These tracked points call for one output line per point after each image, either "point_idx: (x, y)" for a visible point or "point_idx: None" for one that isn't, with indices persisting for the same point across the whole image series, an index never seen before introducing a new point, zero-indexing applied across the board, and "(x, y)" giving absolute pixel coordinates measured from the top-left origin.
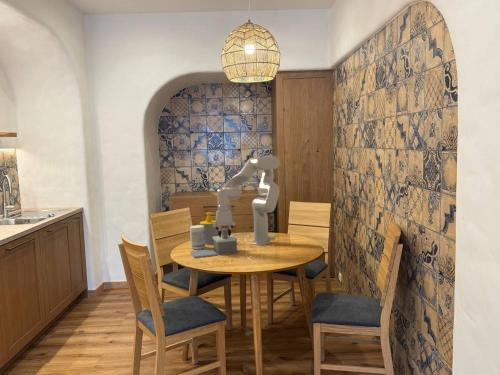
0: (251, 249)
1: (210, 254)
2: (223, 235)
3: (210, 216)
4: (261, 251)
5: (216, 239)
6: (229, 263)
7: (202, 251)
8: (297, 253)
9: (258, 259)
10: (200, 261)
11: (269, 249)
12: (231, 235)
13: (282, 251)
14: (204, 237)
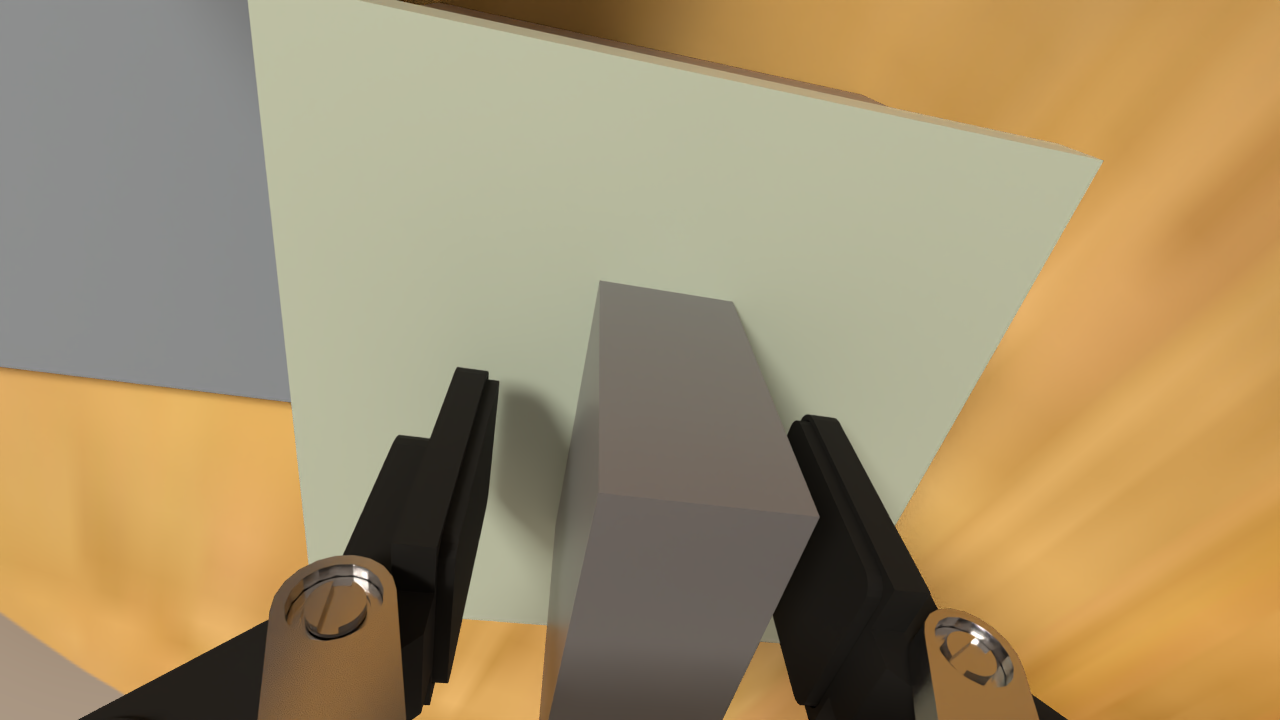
0: (1062, 361)
1: (264, 377)
2: (558, 549)
3: None
4: (1050, 517)
5: (321, 490)
6: (442, 704)
7: (95, 46)
8: (1193, 714)
9: (769, 714)
10: (83, 525)
11: (1209, 491)
12: (999, 268)
13: (1194, 618)
14: None
